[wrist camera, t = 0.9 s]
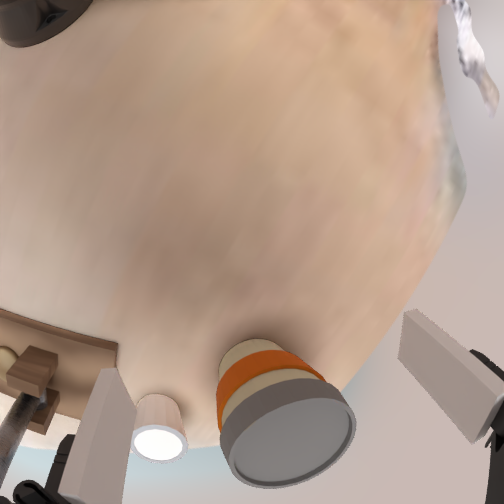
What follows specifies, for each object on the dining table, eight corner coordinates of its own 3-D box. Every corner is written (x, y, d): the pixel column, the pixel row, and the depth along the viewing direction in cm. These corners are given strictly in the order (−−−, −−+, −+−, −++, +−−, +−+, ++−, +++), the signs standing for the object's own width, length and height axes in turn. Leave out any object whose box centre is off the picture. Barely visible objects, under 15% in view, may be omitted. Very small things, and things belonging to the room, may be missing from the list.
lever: (22, 365, 25) (-70, 521, 2) (52, 375, 26) (-25, 551, 3) (25, 392, 25) (-47, 545, 2) (54, 402, 26) (-4, 570, 3)
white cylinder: (127, 419, 34) (123, 455, 27) (139, 383, 33) (135, 417, 27) (175, 433, 36) (178, 469, 29) (191, 398, 35) (196, 434, 29)
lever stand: (-8, 305, 27) (-45, 332, 18) (117, 343, 32) (104, 385, 23) (-1, 382, 28) (-27, 417, 19) (112, 418, 33) (104, 464, 24)
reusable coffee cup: (298, 316, 37) (365, 376, 23) (300, 395, 39) (351, 466, 25) (196, 334, 34) (213, 417, 20) (212, 415, 36) (235, 501, 22)
